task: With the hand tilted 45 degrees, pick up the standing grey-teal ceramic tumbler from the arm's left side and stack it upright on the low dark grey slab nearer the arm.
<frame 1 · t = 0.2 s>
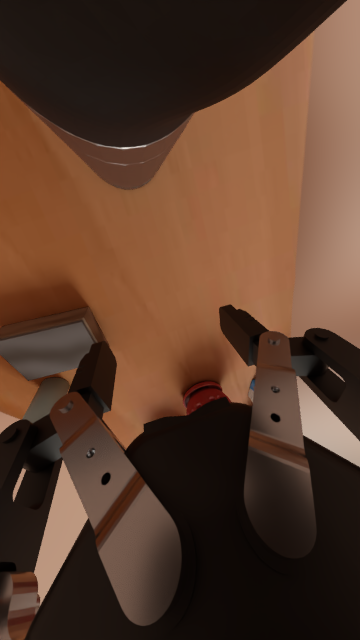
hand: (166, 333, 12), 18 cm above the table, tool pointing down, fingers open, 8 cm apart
dark grey slab: (62, 337, 29), on the table
ceramic tumbler: (55, 385, 35), on the table
plant pot: (202, 390, 49), on the table
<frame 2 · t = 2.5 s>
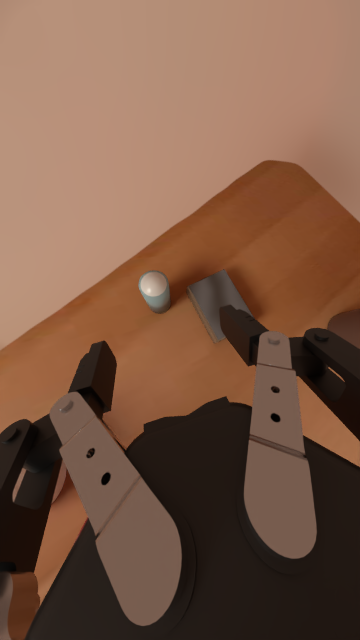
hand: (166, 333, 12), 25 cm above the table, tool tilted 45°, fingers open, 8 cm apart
dark grey slab: (217, 308, 38), on the table
ceramic tumbler: (159, 302, 38), on the table
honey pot: (31, 473, 31), on the table
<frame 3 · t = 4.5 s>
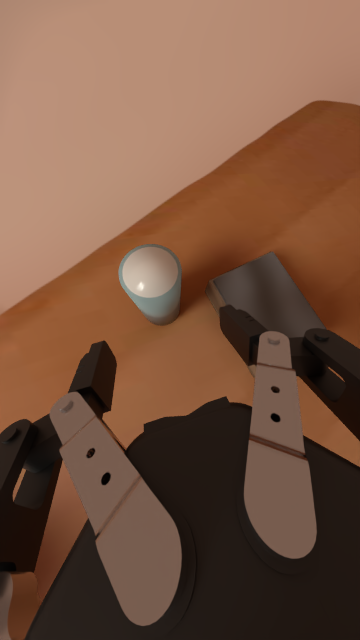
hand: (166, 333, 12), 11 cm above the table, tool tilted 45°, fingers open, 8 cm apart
dark grey slab: (256, 317, 23), on the table
ceramic tumbler: (161, 307, 23), on the table
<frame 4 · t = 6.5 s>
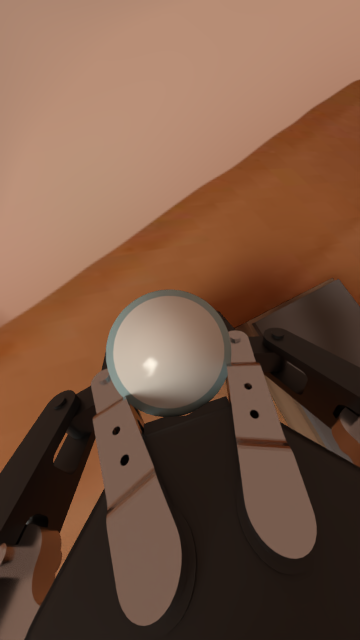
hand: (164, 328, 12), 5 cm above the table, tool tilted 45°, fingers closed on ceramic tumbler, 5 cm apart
dark grey slab: (306, 367, 16), on the table
ceramic tumbler: (173, 353, 16), on the table, touching gripper
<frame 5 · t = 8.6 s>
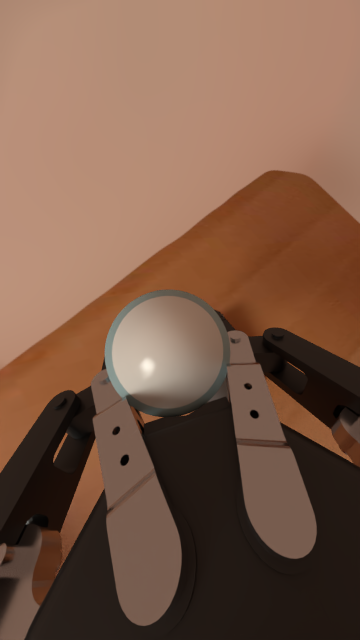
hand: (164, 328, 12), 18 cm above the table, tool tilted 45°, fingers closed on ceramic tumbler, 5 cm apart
ceramic tumbler: (172, 353, 16), point 13 cm above the table, touching gripper
when the fingers open (10 cm above the table, at t = 11.0 s): ceramic tumbler drops 1 cm, resting on dark grey slab.
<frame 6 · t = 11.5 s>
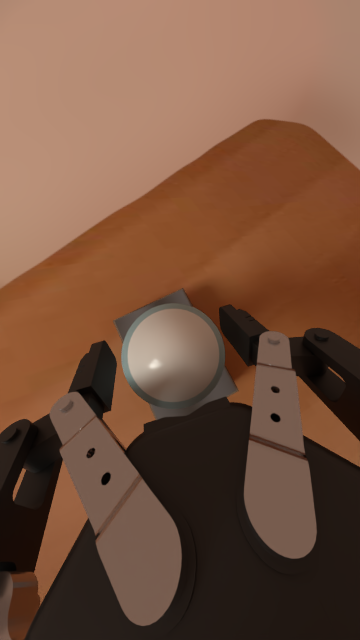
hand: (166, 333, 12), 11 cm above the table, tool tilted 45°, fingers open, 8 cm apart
dark grey slab: (173, 354, 22), on the table
ceramic tumbler: (175, 355, 18), point 4 cm above the table, touching dark grey slab
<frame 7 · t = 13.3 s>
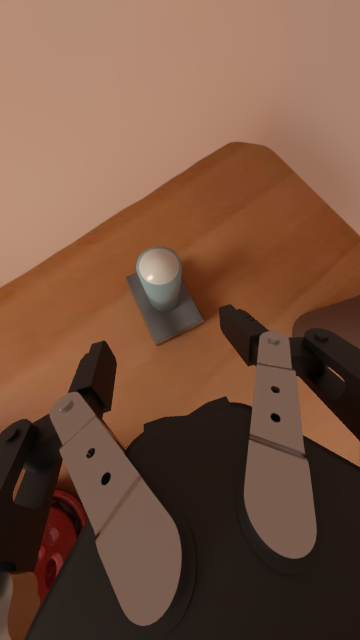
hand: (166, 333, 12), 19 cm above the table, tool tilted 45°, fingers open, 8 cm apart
dark grey slab: (164, 305, 32), on the table
ceramic tumbler: (164, 298, 28), point 4 cm above the table, touching dark grey slab
plant pot: (53, 532, 24), on the table
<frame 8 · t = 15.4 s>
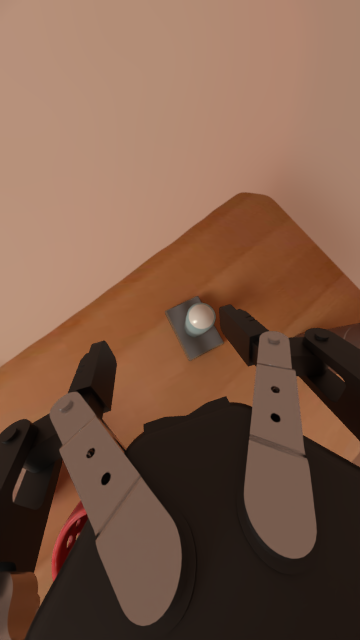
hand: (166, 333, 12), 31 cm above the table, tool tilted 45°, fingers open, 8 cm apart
dark grey slab: (192, 329, 43), on the table
ceramic tumbler: (195, 326, 39), point 4 cm above the table, touching dark grey slab
plant pot: (123, 491, 35), on the table
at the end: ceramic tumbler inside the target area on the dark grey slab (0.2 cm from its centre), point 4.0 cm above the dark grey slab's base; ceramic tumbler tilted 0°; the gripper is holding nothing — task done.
